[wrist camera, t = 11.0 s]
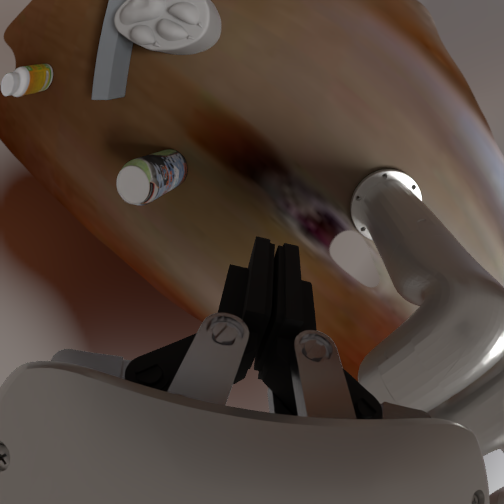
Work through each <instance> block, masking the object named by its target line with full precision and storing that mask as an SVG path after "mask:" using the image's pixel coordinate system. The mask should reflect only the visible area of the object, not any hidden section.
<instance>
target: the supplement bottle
mask: <svg viewBox="0 0 504 504" xmlns="http://www.w3.org/2000/svg"><path fill="white" fill-rule="evenodd" d="M52 78H53V70H52V67H51V66H50V65H49V64H38V65H30V66H23V67H19V68H17V69H16V70H15V71H14V72H11V73H7V74H6V75H5V76H4V77H3V79H2V82H1V92H2V94H3V95H4V96H9V95H13V96H15V97H19V96H23V95H27V94H31V93H36V92H40V91H44V90H46V89H47V88H48V87H49V86H50V84H51V82H52Z"/></svg>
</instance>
